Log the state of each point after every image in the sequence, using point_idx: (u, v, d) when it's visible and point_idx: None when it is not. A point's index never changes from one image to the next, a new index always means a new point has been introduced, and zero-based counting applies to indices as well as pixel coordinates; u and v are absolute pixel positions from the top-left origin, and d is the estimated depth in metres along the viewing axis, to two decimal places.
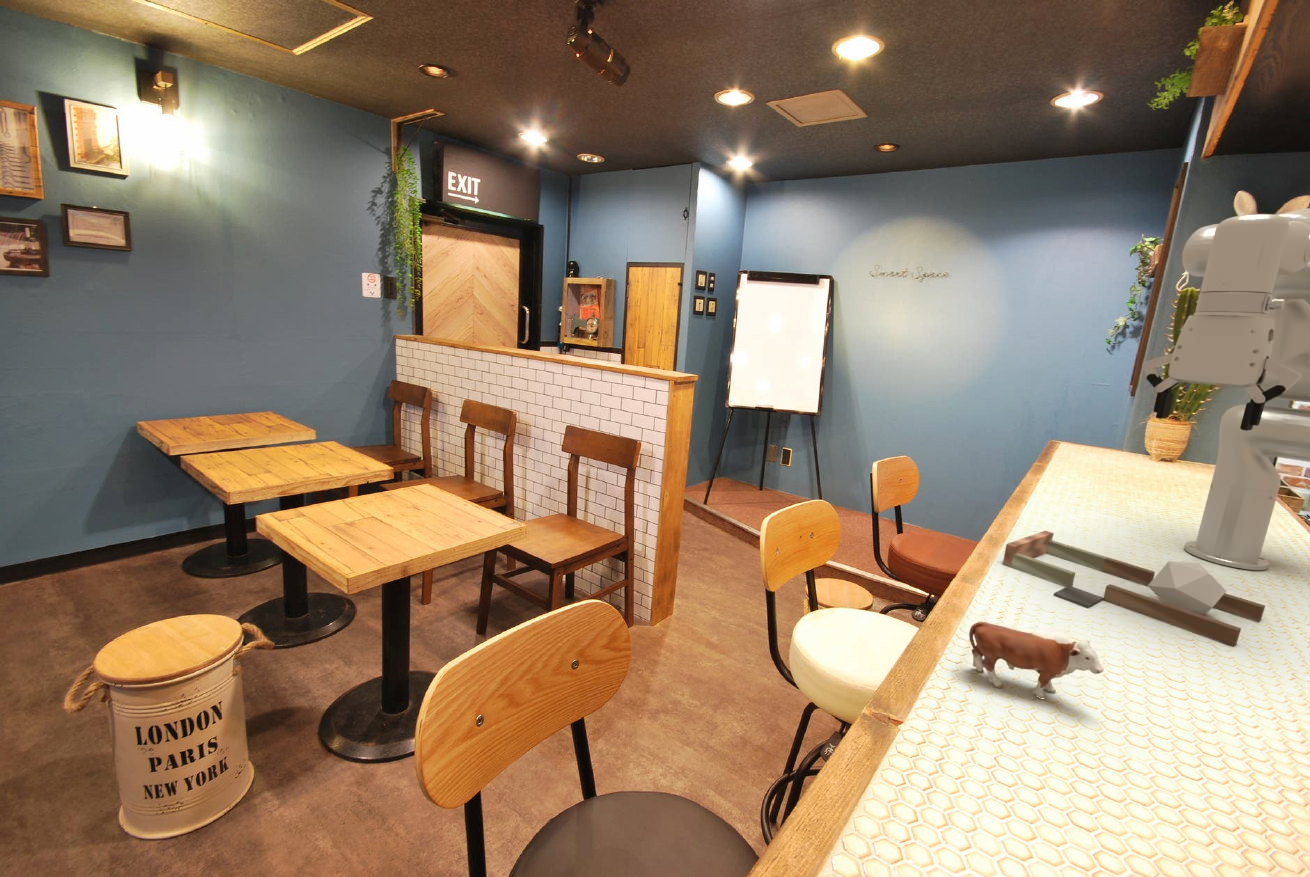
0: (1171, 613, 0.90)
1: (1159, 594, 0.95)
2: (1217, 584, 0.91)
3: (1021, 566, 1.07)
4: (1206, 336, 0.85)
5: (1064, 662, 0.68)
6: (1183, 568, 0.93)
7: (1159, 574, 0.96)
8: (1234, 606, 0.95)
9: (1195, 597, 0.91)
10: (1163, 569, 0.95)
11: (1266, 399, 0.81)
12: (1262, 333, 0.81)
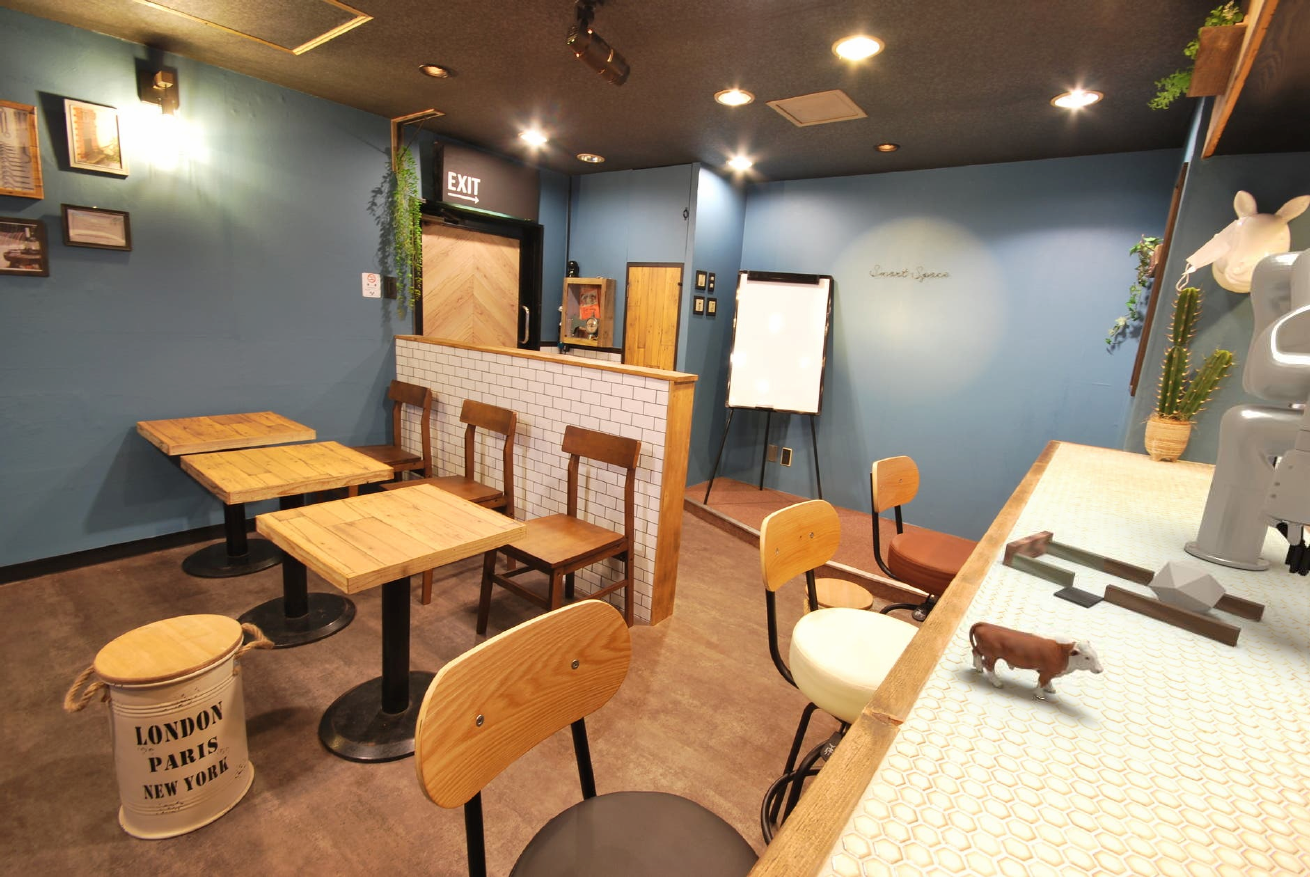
0: (1171, 613, 0.90)
1: (1159, 594, 0.95)
2: (1217, 584, 0.91)
3: (1021, 566, 1.07)
4: (1308, 476, 0.81)
5: (1064, 662, 0.68)
6: (1183, 568, 0.93)
7: (1159, 574, 0.96)
8: (1234, 606, 0.95)
9: (1195, 597, 0.91)
10: (1163, 569, 0.95)
11: None
12: None
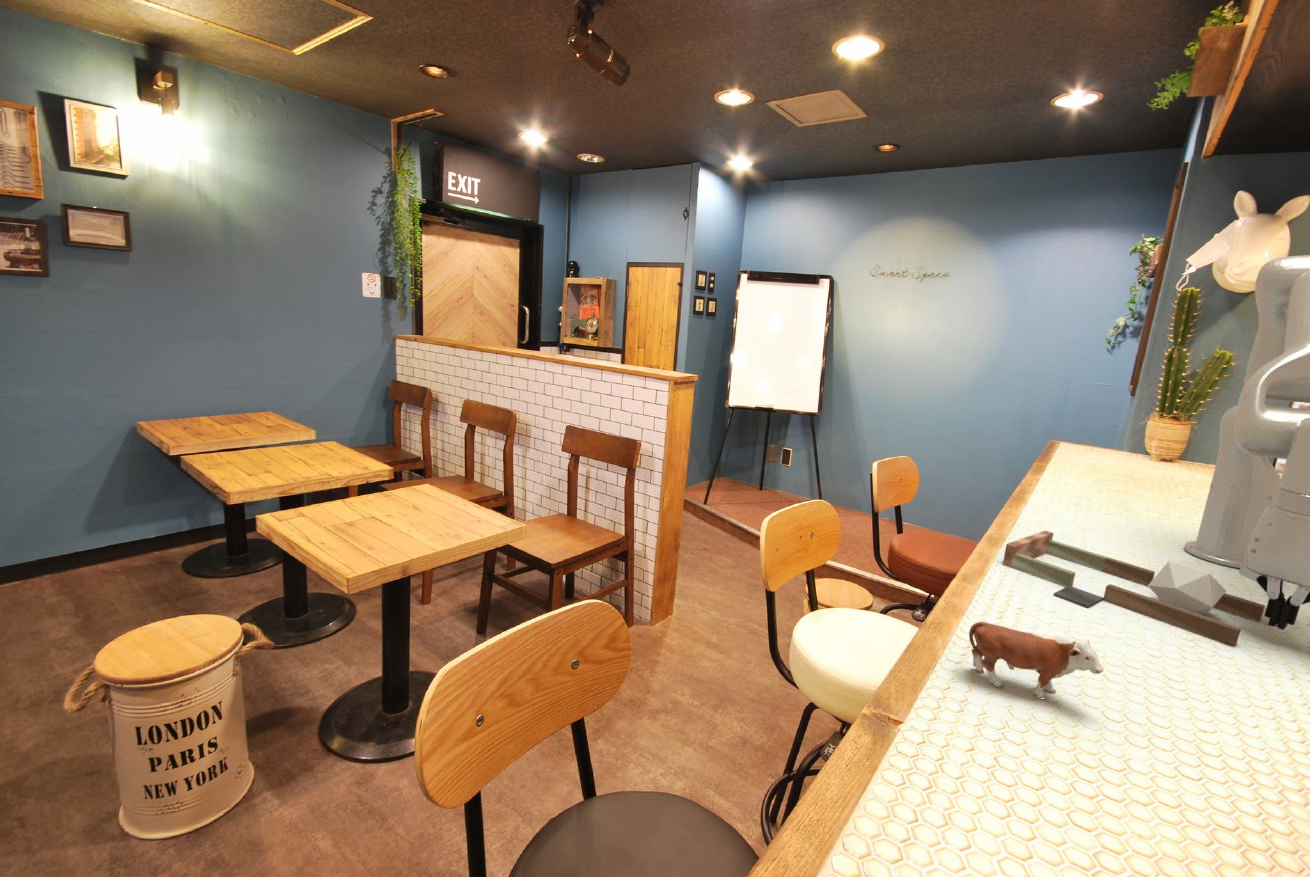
0: (1171, 613, 0.90)
1: (1159, 594, 0.95)
2: (1217, 584, 0.91)
3: (1021, 566, 1.07)
4: (1287, 534, 0.83)
5: (1064, 662, 0.68)
6: (1183, 568, 0.93)
7: (1159, 574, 0.96)
8: (1234, 606, 0.95)
9: (1195, 597, 0.91)
10: (1163, 569, 0.95)
11: (1303, 603, 0.83)
12: None
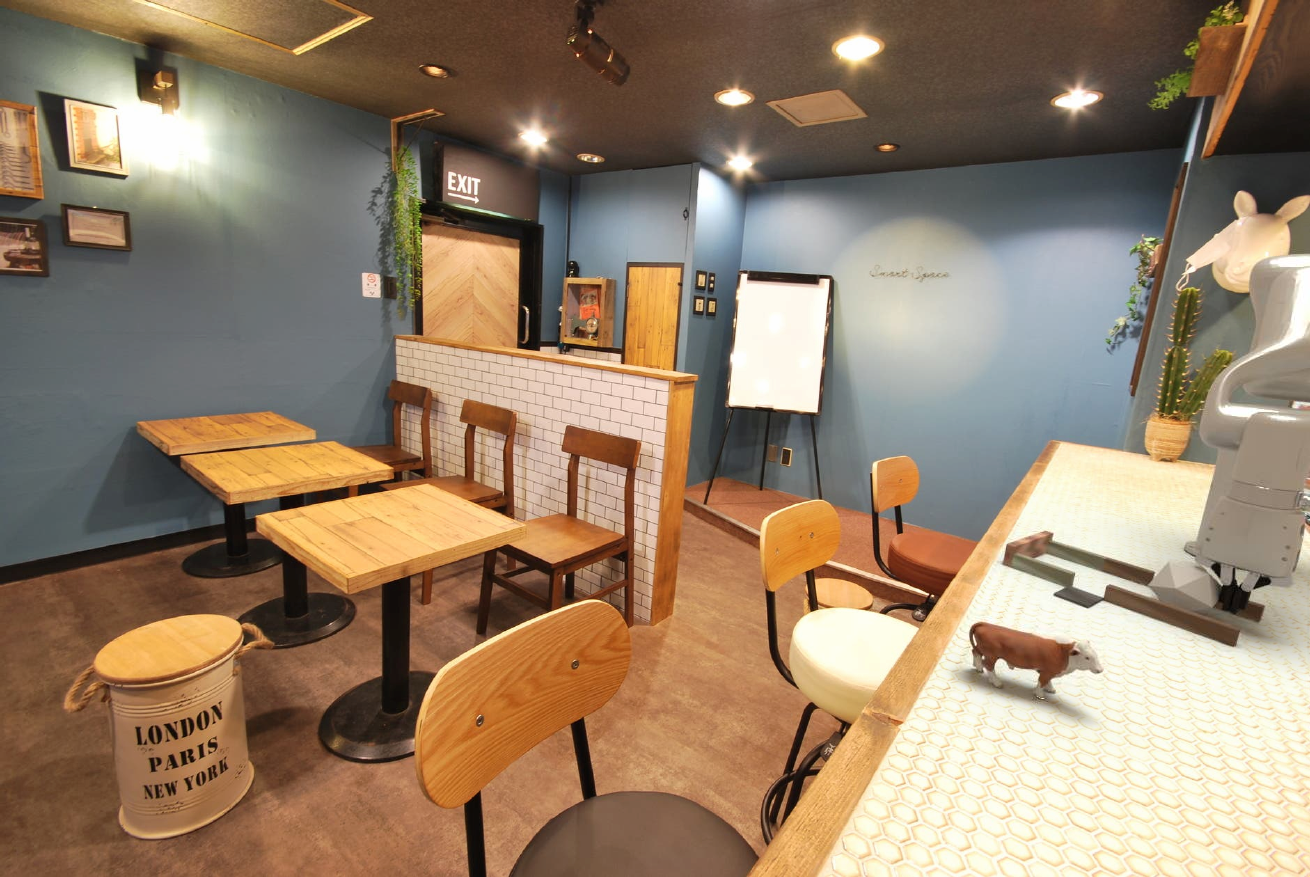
0: (1171, 613, 0.90)
1: (1159, 594, 0.95)
2: (1217, 584, 0.91)
3: (1021, 566, 1.07)
4: (1238, 523, 0.87)
5: (1064, 662, 0.68)
6: (1183, 568, 0.93)
7: (1159, 574, 0.96)
8: None
9: (1195, 597, 0.91)
10: (1163, 569, 0.95)
11: (1253, 588, 0.87)
12: (1294, 530, 0.83)
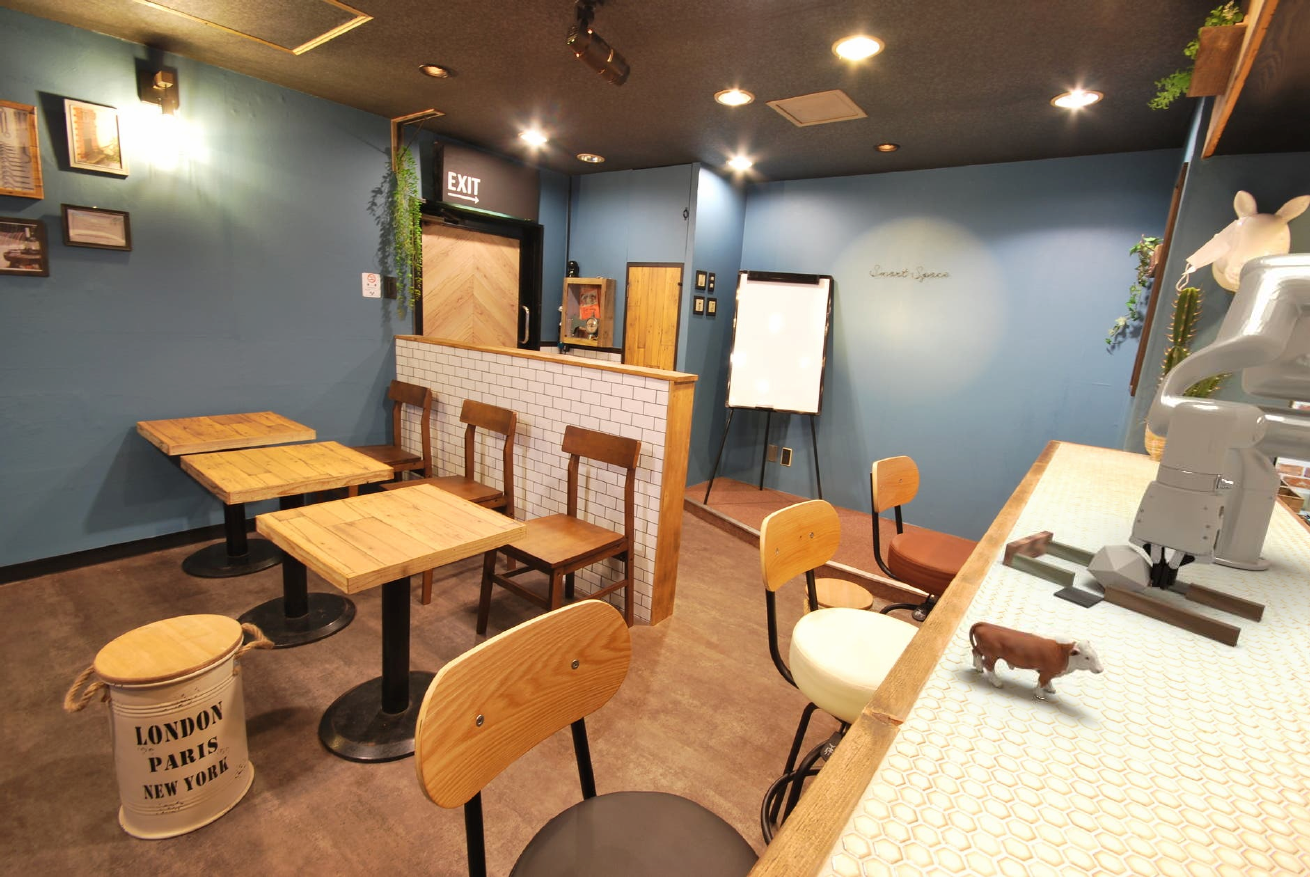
0: (1171, 613, 0.90)
1: (1098, 577, 1.00)
2: (1148, 564, 0.98)
3: (1021, 566, 1.07)
4: (1165, 505, 0.94)
5: (1064, 662, 0.68)
6: (1118, 552, 0.99)
7: (1097, 558, 1.01)
8: (1234, 606, 0.95)
9: (1132, 578, 0.97)
10: (1100, 553, 1.01)
11: (1179, 566, 0.94)
12: (1214, 511, 0.90)
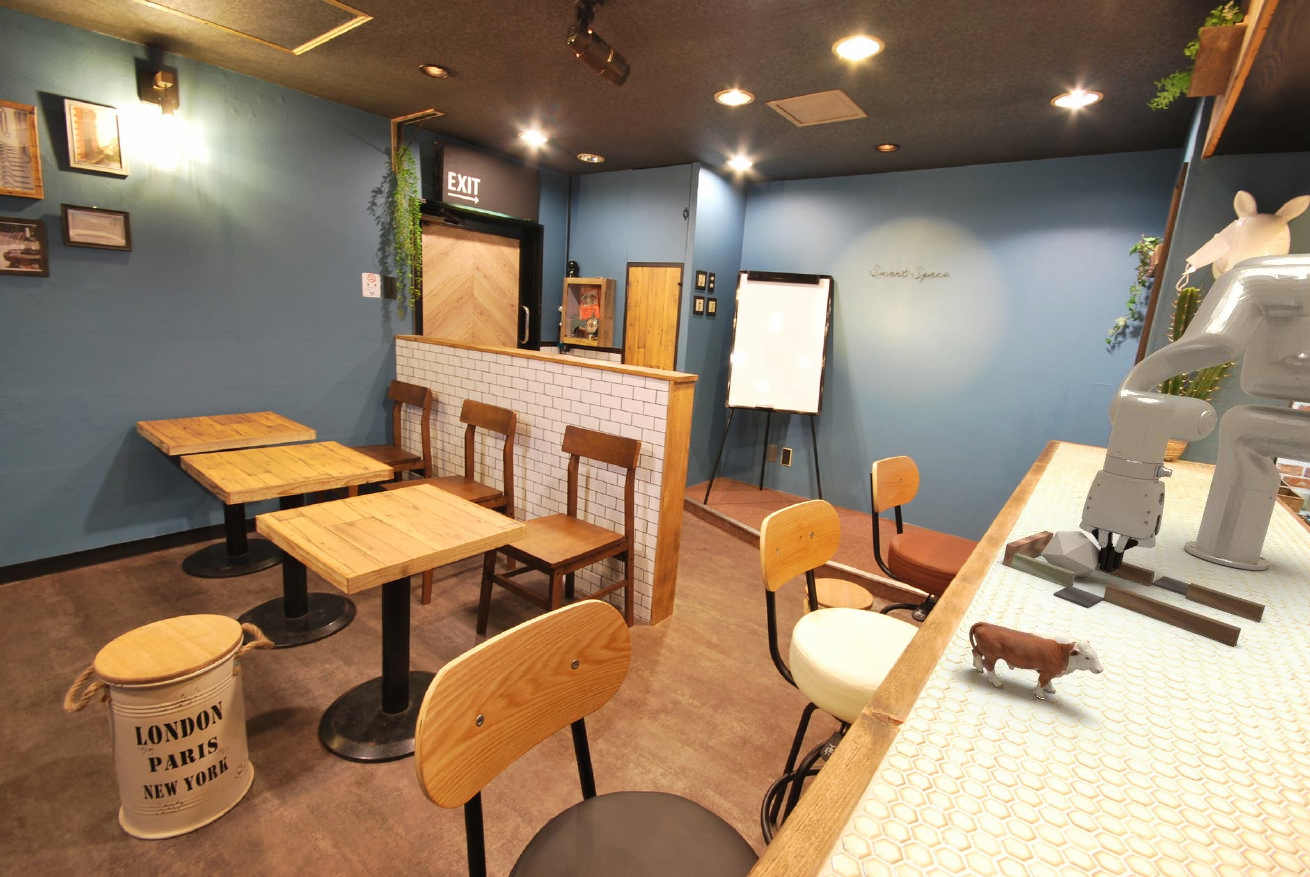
0: (1171, 613, 0.90)
1: (1050, 560, 1.06)
2: (1096, 549, 1.04)
3: (1021, 566, 1.07)
4: (1110, 492, 1.00)
5: (1064, 662, 0.68)
6: (1069, 537, 1.05)
7: (1050, 543, 1.07)
8: (1234, 606, 0.95)
9: (1080, 561, 1.03)
10: (1053, 538, 1.07)
11: (1124, 549, 1.00)
12: (1154, 497, 0.95)
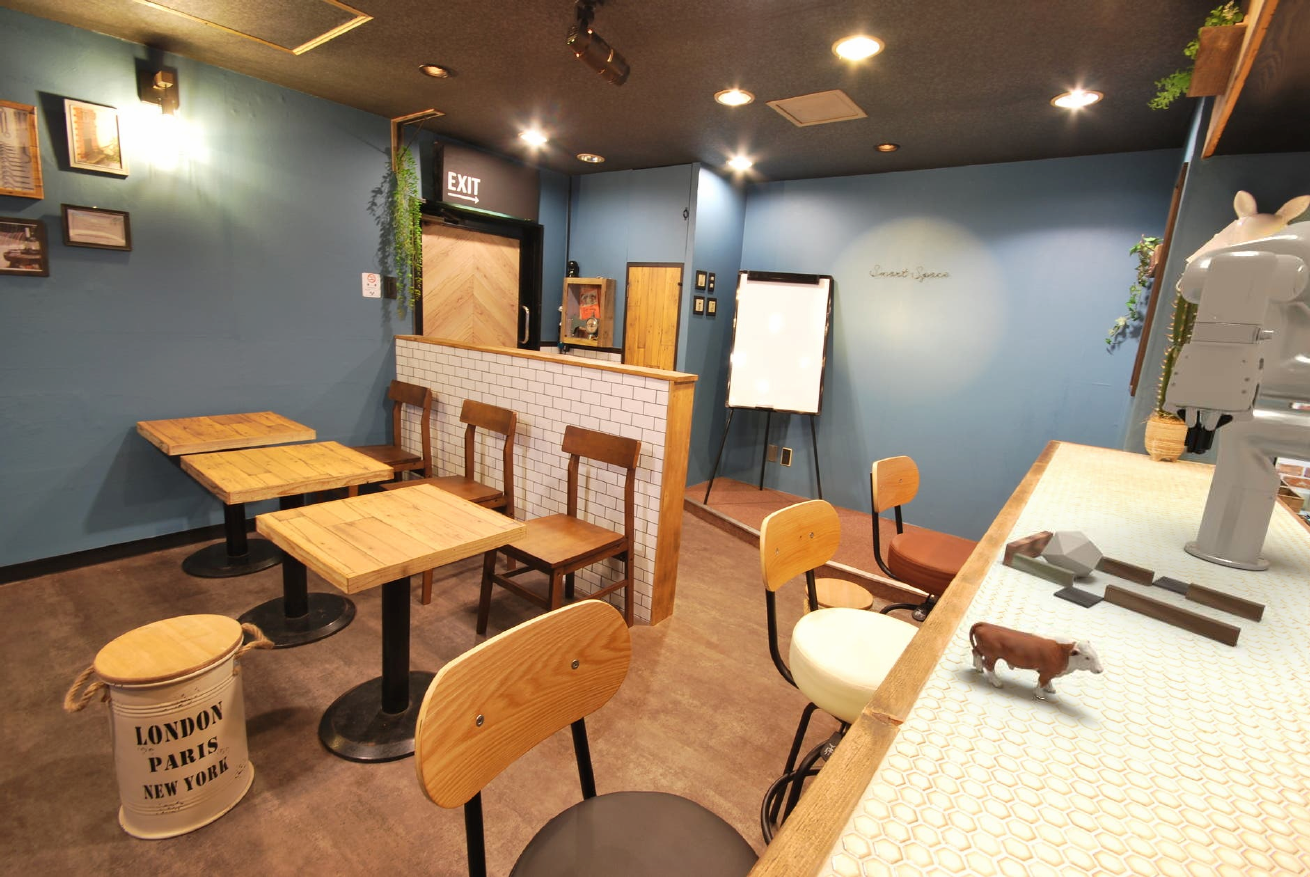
0: (1171, 613, 0.90)
1: (1050, 561, 1.07)
2: (1096, 549, 1.04)
3: (1021, 566, 1.07)
4: (1201, 364, 0.90)
5: (1064, 662, 0.68)
6: (1069, 537, 1.05)
7: (1049, 543, 1.07)
8: (1234, 606, 0.95)
9: (1080, 561, 1.03)
10: (1052, 538, 1.07)
11: (1216, 427, 0.91)
12: (1253, 362, 0.86)
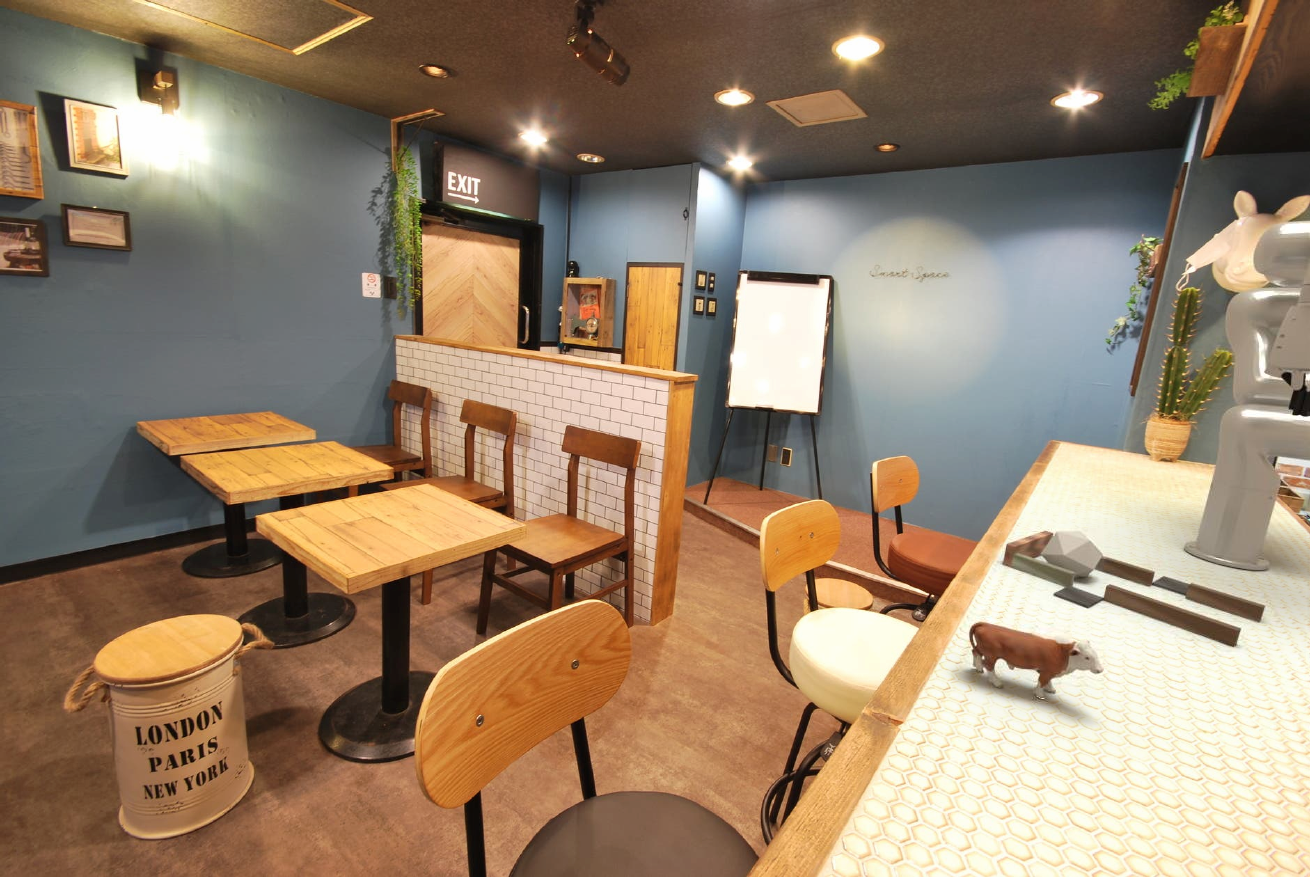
0: (1171, 613, 0.90)
1: (1050, 561, 1.07)
2: (1096, 549, 1.04)
3: (1021, 566, 1.07)
4: None
5: (1064, 662, 0.68)
6: (1068, 537, 1.05)
7: (1049, 543, 1.07)
8: (1234, 606, 0.95)
9: (1080, 561, 1.03)
10: (1052, 538, 1.07)
11: None
12: None
